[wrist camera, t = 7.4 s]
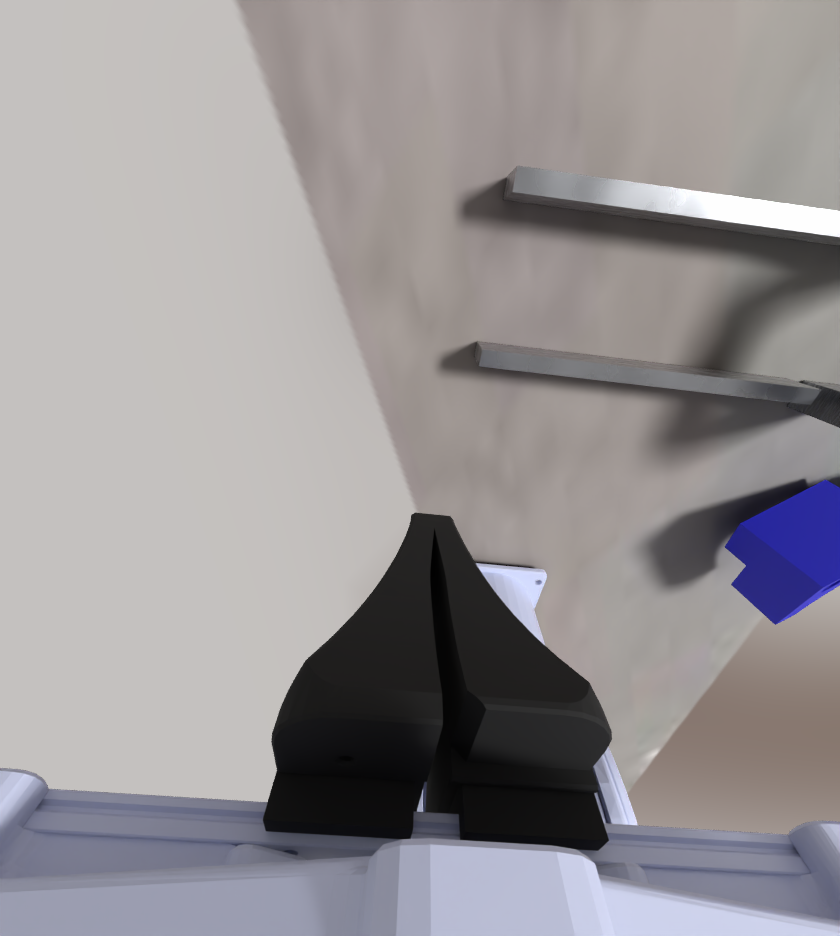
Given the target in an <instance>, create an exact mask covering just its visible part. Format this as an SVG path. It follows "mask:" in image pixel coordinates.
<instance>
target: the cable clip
mask: <svg viewBox="0 0 840 936" xmlns="http://www.w3.org/2000/svg"><path fill="white" fill-rule="evenodd" d="M725 548H726V549H728V550H729V551H730V552H731V553H732V554H733V555H735V556H736V557H737V558H738V559H739V560H741V561H742V562H743V563H744V564H745V565H746V567H745V568H744V569H743V570H742V572H741V573H740V574H739V575H738V577H737V578H736V579H735V580H734V582H733V583H732V584H731V585H732V586H733V587H734V588H736V589H737V590H738V591H739V592H740V593H741V594H742V595H743V596H744V597H745V598H746V599H748V600H749V601H750V602H751V603H752V604H753V605H754V606H755V607H756V608H757V609H759V610H760V611H761V612H762V613H763V614H764V615H765V616H766V617H767V618H768V619H769V620H771V621H772V622H773V623H774V624H778V623H780V622H782V621H784V620H785V619H787V618H789V617H791V616H793V615H795V614H796V613H798V612H799V611H801V610H802V609H803V608H805V607H806V606H808V605H809V604H811V603H812V602H814V601H815V600H817V599H819V598H820V597H821V596H823V595H825V594H827V593H828V592H830V591H831V590H833V589H834V588H836V587H838V586H839V585H840V488H839V487H838V486H836V485H834V484H832V483H831V482H829V481H827V480H824V481H822V482H820V483H818V484H816V485H814V486H812V487H810V488H808V489H806V490H804V491H802V492H800V493H799V494H797V495H795V496H793V497H791V498H789V499H787V500H785V501H783V502H781V503H779V504H777V505H775V506H773V507H771V508H769V509H767V510H765V511H763V512H762V513H760V514H758V515H756V516H754V517H752V518H750V519H748V520H746V521H744V522H742V523H740V524H739V526H738V527H737V529H736V530H735V532H734V534H733V535H732V537H731V538H730V540H729V541H728V543H727V544H726V546H725Z"/></svg>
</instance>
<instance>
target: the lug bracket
mask: <svg viewBox="0 0 840 936" xmlns="http://www.w3.org/2000/svg"><path fill="white" fill-rule="evenodd" d="M802 384H806V385H809V386H812V387H815V388H818V389H821V391H820V393H819V394H818V395H817V397H816V398H815V400H814V401H813V403H812V404H811V405H807V404H798V403H790V402H789V403H788V405H787V407H789V408H792V409H794V410H797V411H799V412H802V413H804V414H807V415H809V416H812V417H814V418H817V419H819V420H822V421H824V422H827V423H829V424H832V425H834V426H837V427H839V428H840V385H838V384H830V383H821V382H813V381H805V380H804V381H803V382H802Z"/></svg>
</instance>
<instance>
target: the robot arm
mask: <svg viewBox="0 0 840 936" xmlns="http://www.w3.org/2000/svg"><path fill="white" fill-rule="evenodd" d="M546 579H547V575H546V572H545V571H544V570H542V569H533V568H523V567H512V566H501V565H490V564H479V563H475V561H474V560H473V558H472V556H471V555H470V553H469V551H468V550H467V548H466V546H465V544H464V542H463V540H462V538H461V536H460V534H459V532H458V530H457V528H456V526H455V524H454V521H453V519H452V518H451V517H450V516H443V515H433V514H422V513H414V514H412V515H411V522H410V525H409V528H408V531H407V534H406V536H405V539H404V541H403V543H402V545H401V547H400V549H399V551H398V553H397V555H396V557H395V558H394V560H393V562H392V563H391V565H390V567H389V568H388V570H387V572H386V573H385V575H384V576H383V578H382V579H381V581H380V582H379V584H378V585H377V586H376V588H375V589H374V590H373V592H372V593H371V594H370V595H369V597H368V598H367V599H366V601H365V602H364V603H363V604H362V605H361V607H360V608H359V609H358V610H357V611H356V612H355V614H354V615H353V616H352V617H351V618H350V619H349V620H348V621H347V622H346V623H345V624H344V625H343V626H342V627H341V628H340V629H339V630H338V631H337V632H336V633H335V634H334V635H333V636H332V637H331V638H330V639H329V640H328V641H327V642H326V643H325V644H323V645H322V646H321V647H320V648H319V649H318V650H317V651H316V652H315V653H314V654H312V655H311V656H310V657H309V658H308V659H307V660H306V661H305V663H304V664H303V666H302V667H301V669H300V671H299V672H298V674H297V676H296V677H295V679H294V681H293V683H292V685H291V686H290V689H289V690H288V693H287V695H286V697H285V699H284V702H283V704H282V706H281V709H280V711H279V715H278V717H277V721H276V724H275V727H274V730H273V733H272V746H273V752H274V757H275V762H276V767H277V773H276V776H275V779H274V782H273V786H272V789H271V793H270V796H269V799H268V802H253V801H236V800H221V799H204V798H188V797H172V796H171V797H170V796H155V795H139V794H123V793H108V792H90V791H75V790H58V789H48V785H47V784H46V782H45V781H44V779H43V778H42V777H40V776H38V775H37V774H35V773H32V772H29V771H26V770H19V769H7V768H0V936H840V822H836V821H812V822H807V823H803V824H801V825H799V826H797V827H795V828H794V829H792V830H791V831H790V832H789V835H784V834H770V833H753V832H737V831H720V830H704V829H689V828H672V827H657V826H656V827H655V826H640V825H638V824H637V821H636V818H635V815H634V812H633V809H632V806H631V803H630V800H629V798H628V795H627V792H626V789H625V786H624V784H623V781H622V778H621V776H620V773H619V771H618V768H617V766H616V763H615V761H614V758H613V756H612V754H611V751H610V749H609V747H608V746H609V744H610V742H611V740H612V734H611V729H610V726H609V724H608V721H607V719H606V716H605V714H604V711H603V709H602V707H601V705H600V703H599V700H598V699H597V697H596V695H595V693H594V691H593V689H592V687H591V685H590V683H589V682H588V681H587V680H585V679H584V678H583V677H582V676H580V675H579V674H578V673H577V672H576V671H574V670H573V669H572V668H571V667H569V666H568V665H567V664H566V663H564V662H563V661H562V660H561V659H559V658H558V657H557V656H556V655H555V654H554V653H553V652H551V651H550V650H549V649H548V648H547V647H546V646H545V643H544V640H543V637H542V634H541V630H540V627H539V624H538V621H537V618H536V614H535V611H534V608H535V606H536V603H537V601H538V598H539V596H540V593H541V591H542V588H543V586H544V584H545V581H546ZM537 580H538V581H537Z"/></svg>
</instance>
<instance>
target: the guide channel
mask: <svg viewBox="0 0 840 936" xmlns="http://www.w3.org/2000/svg"><path fill="white" fill-rule="evenodd" d="M503 200H508V201H516V202H523V203H530V204H538V205H545V206H552V207H560V208H567V209H574V210H581V211H589V212H596V213H603V214H611V215H618V216H625V217H633V218H640V219H647V220H654V221H662V222H669V223H676V224H684V225H691V226H698V227H706V228H713V229H720V230H727V231H735V232H742V233H749V234H757V235H764V236H771V237H779V238H786V239H793V240H800V241H808V242H815V243H822V244H830V245H837V246H840V211H834V210H827V209H820V208H813V207H806V206H799V205H792V204H785V203H778V202H771V201H764V200H756V199H749V198H742V197H735V196H728V195H721V194H714V193H707V192H700V191H693V190H686V189H679V188H672V187H665V186H657V185H650V184H643V183H636V182H629V181H622V180H615V179H608V178H601V177H594V176H587V175H580V174H573V173H565V172H558V171H551V170H544V169H537V168H530V167H523V166H517V167H516V168H515V169H514V170H513V171H512V172H511V173H510V174H509V175H508V176H507V180H506V186H505V191H504V197H503ZM474 357H475V359H476V361H477V363H478V365H479V366H480V367H489V368H498V369H506V370H515V371H523V372H532V373H541V374H549V375H558V376H566V377H575V378H584V379H592V380H601V381H609V382H618V383H627V384H635V385H644V386H652V387H661V388H669V389H678V390H687V391H695V392H704V393H712V394H721V395H730V396H738V397H747V398H755V399H764V400H773V401H781V402H790V403H798V404H807V405H811V404H812V403H813V401H814V400H815V398H816V397H817V395H818V394H819V393H820V391H821V389H818V388H815V387H812V386H809V385H806V384H802V383H799V382H796V381H793V380H790V379H787V378H780V377H771V376H763V375H754V374H746V373H738V372H729V371H721V370H713V369H704V368H696V367H687V366H679V365H671V364H662V363H654V362H646V361H637V360H629V359H620V358H612V357H604V356H595V355H587V354H579V353H570V352H562V351H553V350H545V349H537V348H528V347H520V346H512V345H503V344H495V343H487V342H478V341H477V345H476V350H475V356H474Z"/></svg>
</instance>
